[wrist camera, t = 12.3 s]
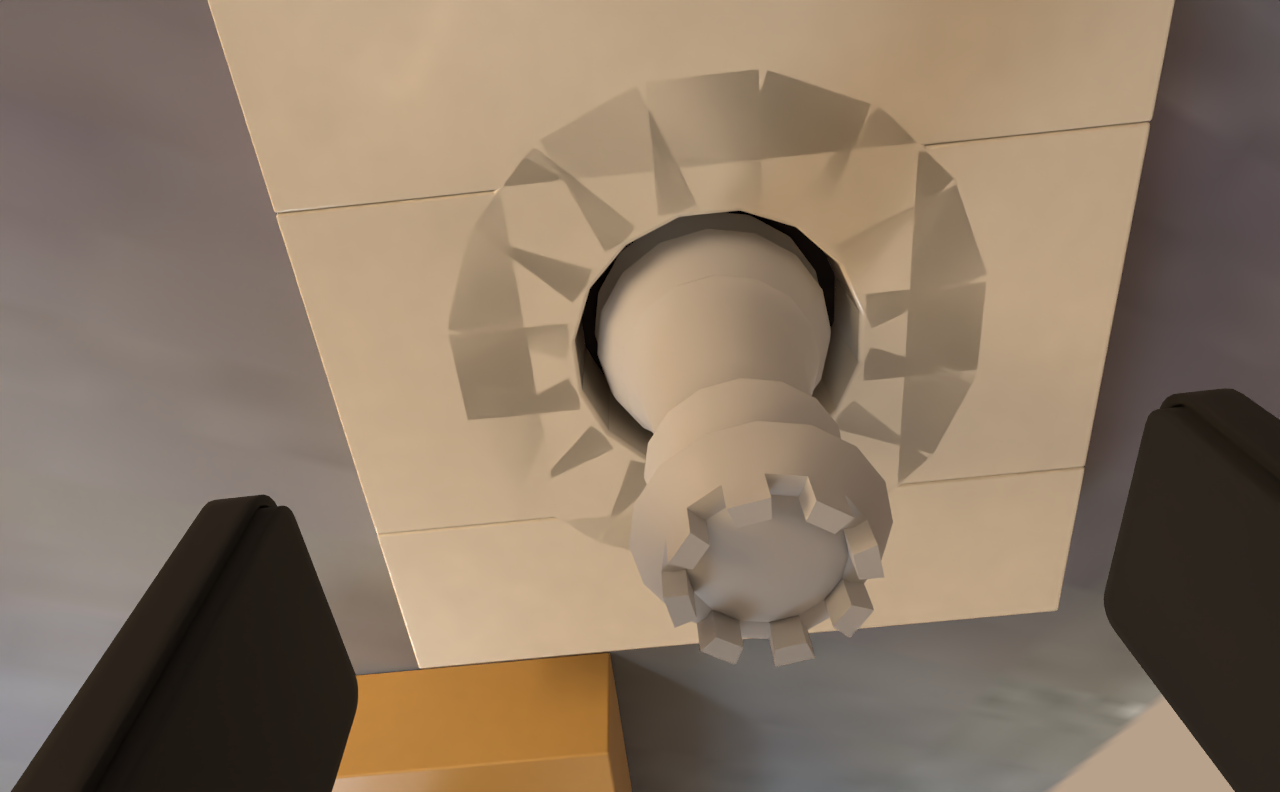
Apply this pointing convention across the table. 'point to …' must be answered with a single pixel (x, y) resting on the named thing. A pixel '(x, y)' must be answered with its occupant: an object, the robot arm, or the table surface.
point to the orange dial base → (488, 729)
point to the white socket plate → (686, 186)
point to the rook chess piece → (739, 438)
